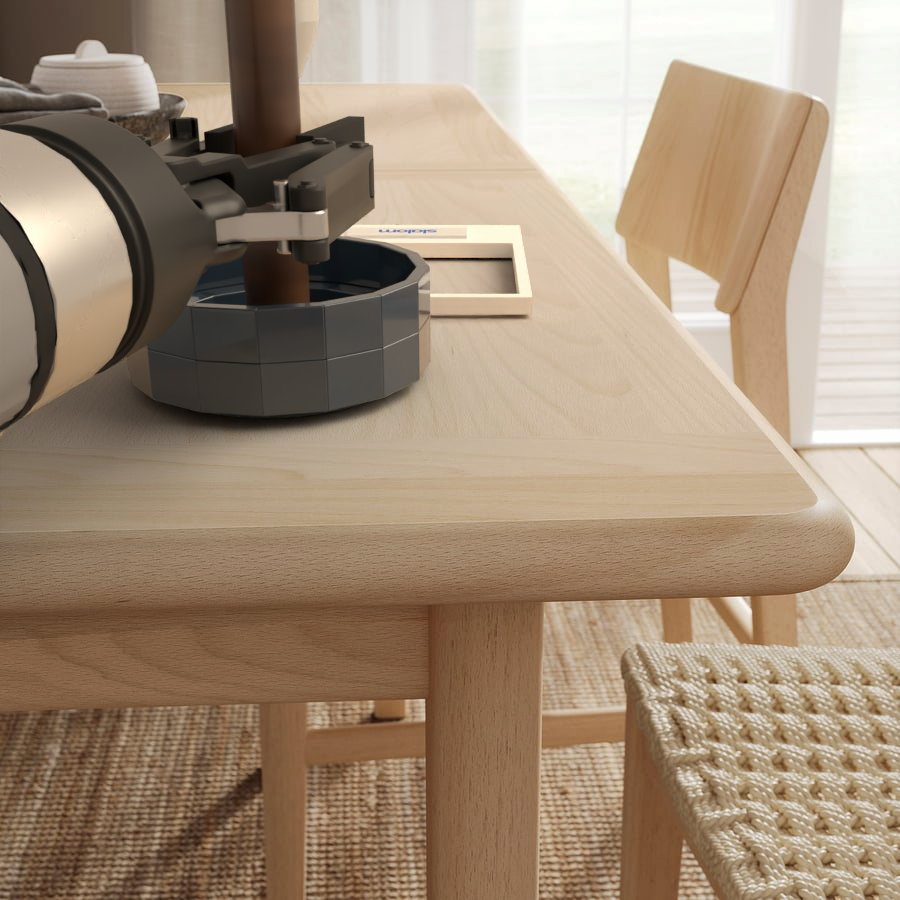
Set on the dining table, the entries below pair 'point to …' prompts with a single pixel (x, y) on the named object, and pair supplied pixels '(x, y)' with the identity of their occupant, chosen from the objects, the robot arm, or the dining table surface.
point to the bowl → (296, 339)
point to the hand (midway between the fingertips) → (315, 145)
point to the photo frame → (462, 245)
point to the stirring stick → (265, 125)
